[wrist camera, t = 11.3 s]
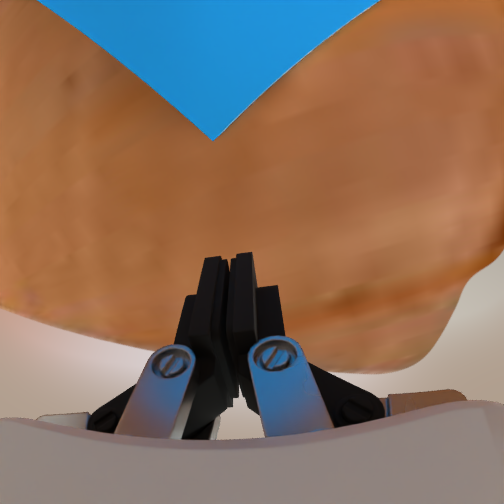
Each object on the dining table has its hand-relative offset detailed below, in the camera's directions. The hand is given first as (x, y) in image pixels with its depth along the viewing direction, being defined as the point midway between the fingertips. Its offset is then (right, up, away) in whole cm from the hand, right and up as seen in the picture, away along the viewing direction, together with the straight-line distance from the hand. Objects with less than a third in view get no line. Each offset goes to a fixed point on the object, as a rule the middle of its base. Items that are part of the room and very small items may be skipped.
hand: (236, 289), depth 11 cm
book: (-4, +23, +2) cm, 23 cm away
